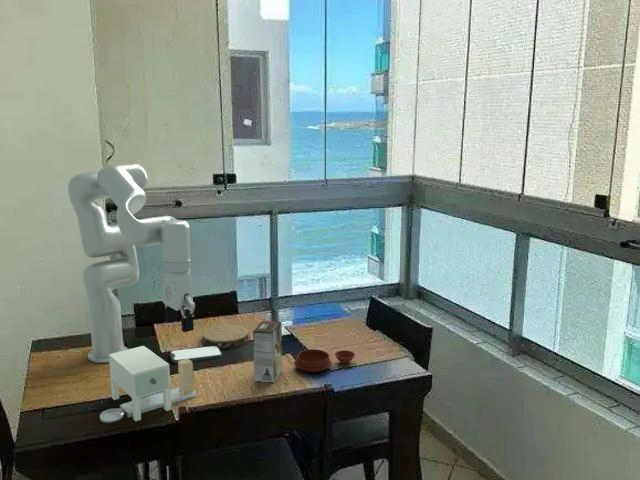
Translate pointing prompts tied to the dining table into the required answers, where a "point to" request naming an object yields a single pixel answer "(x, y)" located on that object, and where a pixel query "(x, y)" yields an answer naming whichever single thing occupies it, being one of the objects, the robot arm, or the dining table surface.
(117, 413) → the steel disc
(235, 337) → the tan round flat disc
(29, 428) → the dining table surface
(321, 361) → the pottery
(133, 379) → the low cabinet
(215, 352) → the phone case
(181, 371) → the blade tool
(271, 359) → the coffee box
